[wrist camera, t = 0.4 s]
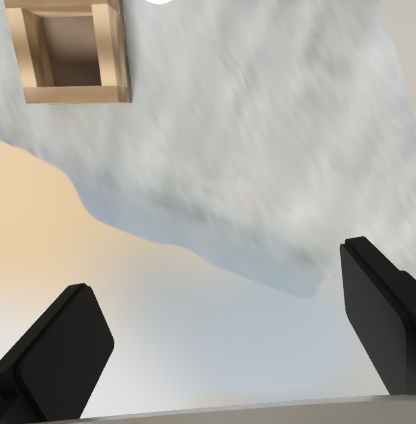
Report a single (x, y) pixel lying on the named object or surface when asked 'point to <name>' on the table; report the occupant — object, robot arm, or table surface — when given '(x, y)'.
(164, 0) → the can
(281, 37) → the table surface
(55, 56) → the socket block
